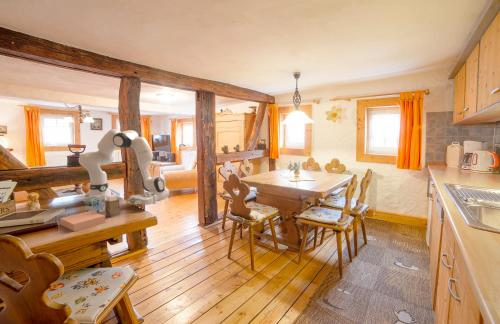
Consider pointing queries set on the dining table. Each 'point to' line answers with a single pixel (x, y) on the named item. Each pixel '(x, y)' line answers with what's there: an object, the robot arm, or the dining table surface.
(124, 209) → the dining table surface
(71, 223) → the dock
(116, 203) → the walnut crate
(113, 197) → the cargo block
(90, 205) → the light bulb box
